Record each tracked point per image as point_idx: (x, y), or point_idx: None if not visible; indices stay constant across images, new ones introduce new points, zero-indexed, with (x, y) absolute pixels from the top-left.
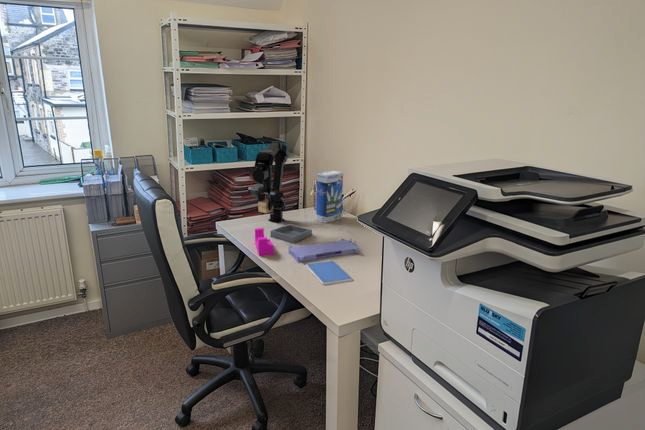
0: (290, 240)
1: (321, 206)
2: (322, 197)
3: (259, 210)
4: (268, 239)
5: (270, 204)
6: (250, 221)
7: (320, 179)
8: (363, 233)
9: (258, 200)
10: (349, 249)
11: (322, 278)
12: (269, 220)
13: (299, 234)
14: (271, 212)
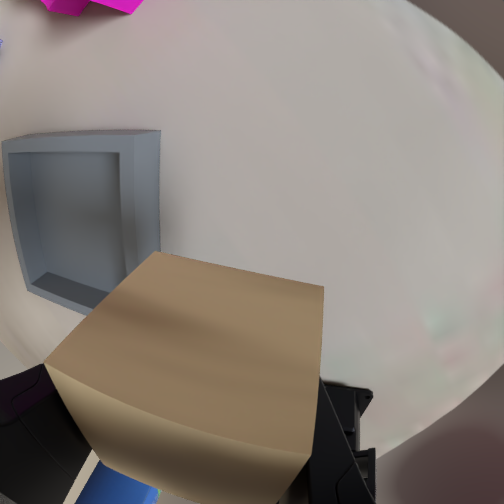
0: (29, 135)
1: (118, 473)
2: (98, 502)
3: (296, 293)
4: (53, 2)
5: (43, 372)
6: (468, 336)
7: None
8: (12, 349)
9: (349, 491)
10: None
11: None
12: (361, 390)
13: (8, 197)
14: (345, 435)
